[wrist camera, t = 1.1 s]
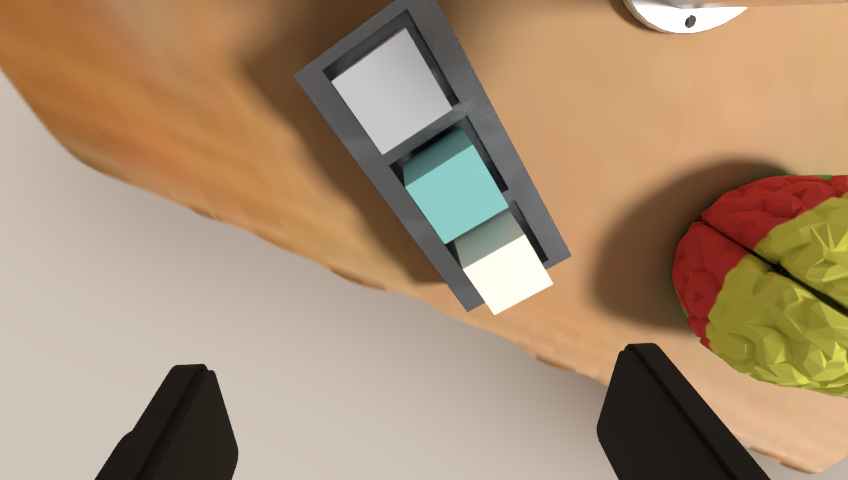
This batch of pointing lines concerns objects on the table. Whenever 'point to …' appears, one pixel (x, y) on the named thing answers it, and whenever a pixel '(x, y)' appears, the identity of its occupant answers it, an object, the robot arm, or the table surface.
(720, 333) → the brain model
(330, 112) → the console
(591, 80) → the table surface
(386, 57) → the grey key
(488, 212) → the teal key
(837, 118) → the table surface
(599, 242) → the table surface
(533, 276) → the ivory key
